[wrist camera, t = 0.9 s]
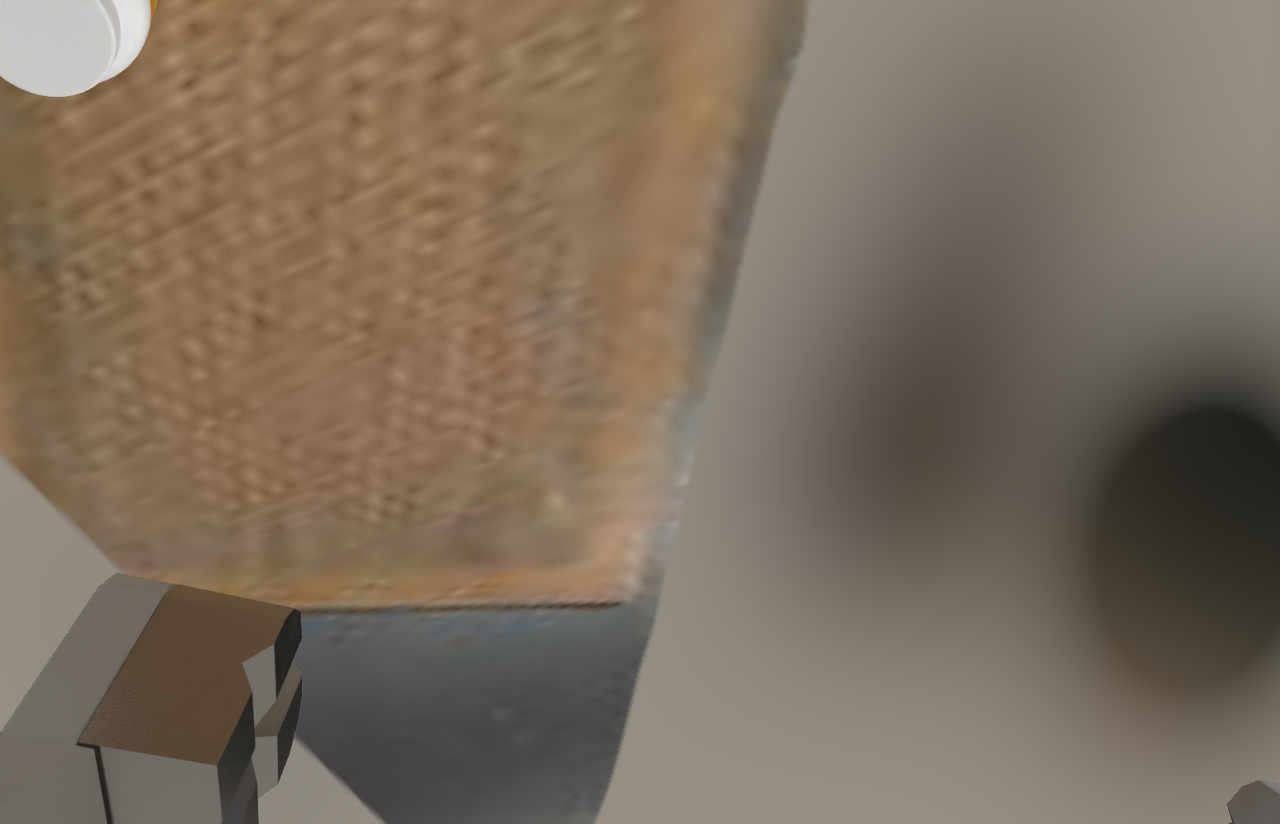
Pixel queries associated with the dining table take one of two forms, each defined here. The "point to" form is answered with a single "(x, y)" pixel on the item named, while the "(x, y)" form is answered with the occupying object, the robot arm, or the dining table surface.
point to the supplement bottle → (70, 42)
